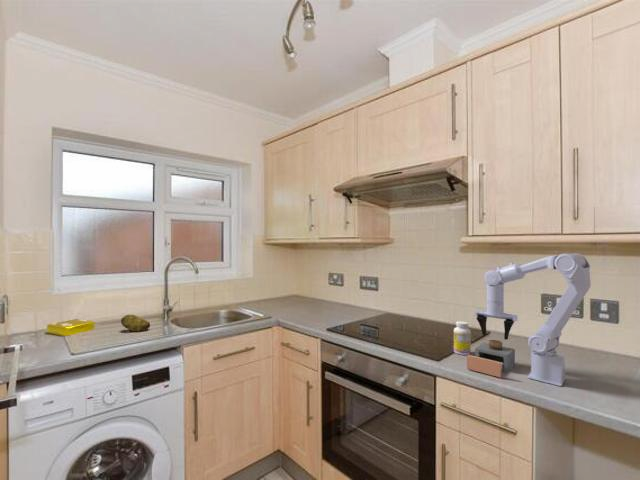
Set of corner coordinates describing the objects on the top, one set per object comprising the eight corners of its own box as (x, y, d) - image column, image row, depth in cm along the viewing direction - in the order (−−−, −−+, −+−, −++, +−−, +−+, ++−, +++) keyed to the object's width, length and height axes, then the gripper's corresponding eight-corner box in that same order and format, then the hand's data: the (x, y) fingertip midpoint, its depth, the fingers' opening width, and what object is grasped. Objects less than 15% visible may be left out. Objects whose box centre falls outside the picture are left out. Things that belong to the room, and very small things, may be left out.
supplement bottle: (456, 349, 143) (456, 319, 143) (472, 352, 139) (472, 322, 139) (451, 353, 138) (451, 322, 138) (468, 356, 134) (468, 325, 134)
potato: (140, 333, 162) (140, 317, 162) (117, 331, 165) (118, 315, 165) (152, 329, 170) (152, 313, 171) (130, 327, 173) (130, 312, 173)
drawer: (508, 369, 119) (508, 356, 119) (500, 377, 112) (500, 363, 112) (476, 361, 127) (476, 349, 127) (467, 368, 120) (467, 355, 120)
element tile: (96, 329, 170) (96, 320, 170) (64, 337, 156) (64, 327, 156) (76, 326, 175) (77, 317, 175) (44, 333, 161) (45, 324, 161)
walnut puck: (503, 348, 126) (503, 341, 126) (500, 351, 123) (500, 344, 123) (490, 345, 129) (490, 339, 129) (486, 348, 126) (487, 341, 126)
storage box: (514, 364, 125) (514, 349, 125) (507, 371, 118) (507, 355, 118) (483, 357, 133) (484, 342, 133) (475, 363, 126) (475, 348, 126)
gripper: (519, 302, 124) (519, 338, 124) (478, 298, 134) (478, 331, 134) (514, 304, 119) (514, 342, 119) (472, 300, 129) (472, 334, 129)
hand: (495, 336), depth 126 cm, fingers open, 7 cm apart
